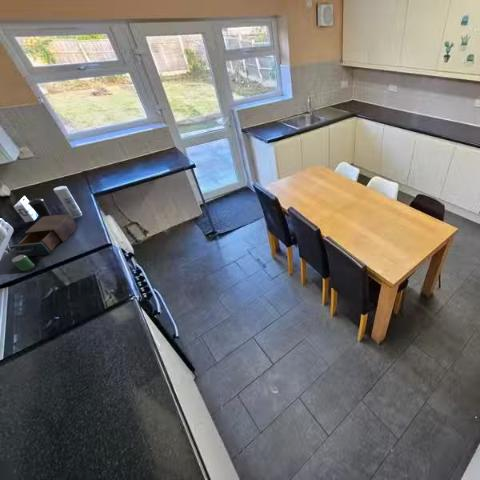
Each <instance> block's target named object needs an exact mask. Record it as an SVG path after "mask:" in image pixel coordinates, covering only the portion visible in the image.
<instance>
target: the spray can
mask: <svg viewBox="0 0 480 480" xmlns="http://www.w3.org/2000/svg"><path fill="white" fill-rule="evenodd" d="M53 191H54V194H55V195H56V196H57V197H58V199H59V201H60V202H61V204H62V205H63V208H64V209H65V210H66V212H67V214H70V215H71V217H72V218H73V219H76V218H80V217H81V216H83V212H82V211H81V209H80V207H79V205H78V203H77V202H76V200H75V199H74V197H73V195H72V194H71V191H70V190H69V189H68V186H66V185H59V186H57V187H55V188H53Z"/></svg>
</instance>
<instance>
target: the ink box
mask: <svg viewBox="0 0 480 480" xmlns="http://www.w3.org/2000/svg"><path fill="white" fill-rule="evenodd" d="M29 202H30V200H29V199H28V198H27V197H26V195H23V196H22V198H20V200H18V201H17V203H15V204H14V205H13V208H14V209H15V211H16V212H17V213H18V214H19V216H20V217H21V218H22V220H23V221H24V223H29V222H35V220H36V219H37V218H38V217H40V216H39V215H38V214H37V213H36V212H35V211H34V209H33V208H32V207H31V206H30V205H29V204H28V203H29Z"/></svg>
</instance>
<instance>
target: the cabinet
mask: <svg viewBox="0 0 480 480" xmlns="http://www.w3.org/2000/svg"><path fill="white" fill-rule="evenodd" d="M78 227H79V225H78V224H77V222H76V220H74V218H72V217H71V215H70V214H69V213H64V214H53V215H52V216H43V217H42V218H41V217H40V219H38V220H37V221H36V222H35V223H34V224H33V225H32V226H31V227H29V228H28V229H27V230H26V231H25V232H24V234H25V235H26V236H27V235H28V234H29V233H38V232H47V231H53V232H54V233H55V234H56V235H57V237H58V238H59V239H60V240H61V241H60V242H59V243H58V244H60V243H65V242H66V241H67V240H68V239H69V238H70V237H71V236H72V234H73V233H74V232H75V231H76V230H77V229H78Z"/></svg>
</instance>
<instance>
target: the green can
mask: <svg viewBox="0 0 480 480" xmlns="http://www.w3.org/2000/svg"><path fill="white" fill-rule="evenodd" d="M11 262H12V264H14V266H16V267H17V269H18V270H19V271H21V272H22V273H23V274H29V273H32V272H33V270H30V269H32V268H34V267H35V263H33V261H32V260H31V259H29V256H26V255H21V254H18V255H17V256H15V257H13V258H12V259H11Z"/></svg>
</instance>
